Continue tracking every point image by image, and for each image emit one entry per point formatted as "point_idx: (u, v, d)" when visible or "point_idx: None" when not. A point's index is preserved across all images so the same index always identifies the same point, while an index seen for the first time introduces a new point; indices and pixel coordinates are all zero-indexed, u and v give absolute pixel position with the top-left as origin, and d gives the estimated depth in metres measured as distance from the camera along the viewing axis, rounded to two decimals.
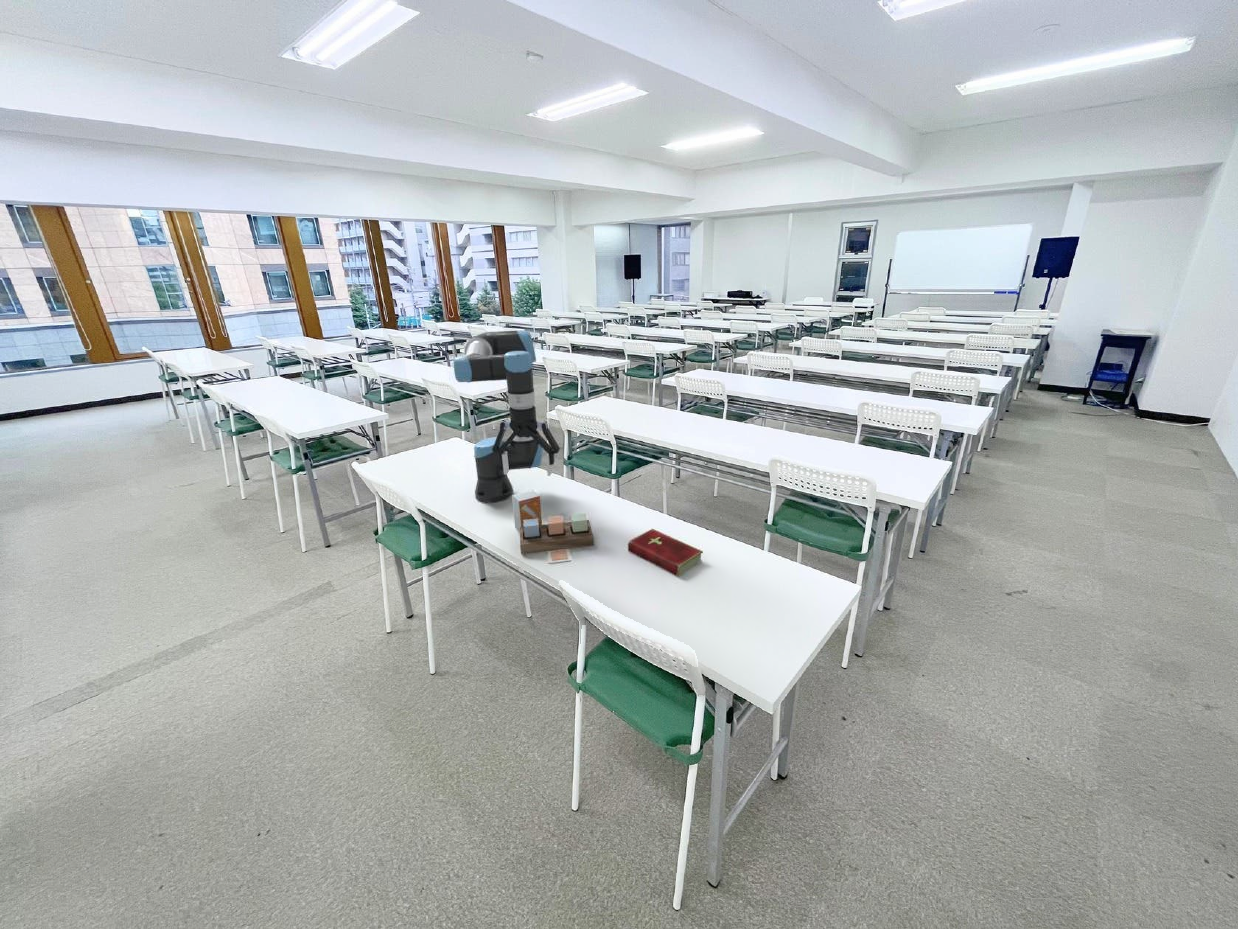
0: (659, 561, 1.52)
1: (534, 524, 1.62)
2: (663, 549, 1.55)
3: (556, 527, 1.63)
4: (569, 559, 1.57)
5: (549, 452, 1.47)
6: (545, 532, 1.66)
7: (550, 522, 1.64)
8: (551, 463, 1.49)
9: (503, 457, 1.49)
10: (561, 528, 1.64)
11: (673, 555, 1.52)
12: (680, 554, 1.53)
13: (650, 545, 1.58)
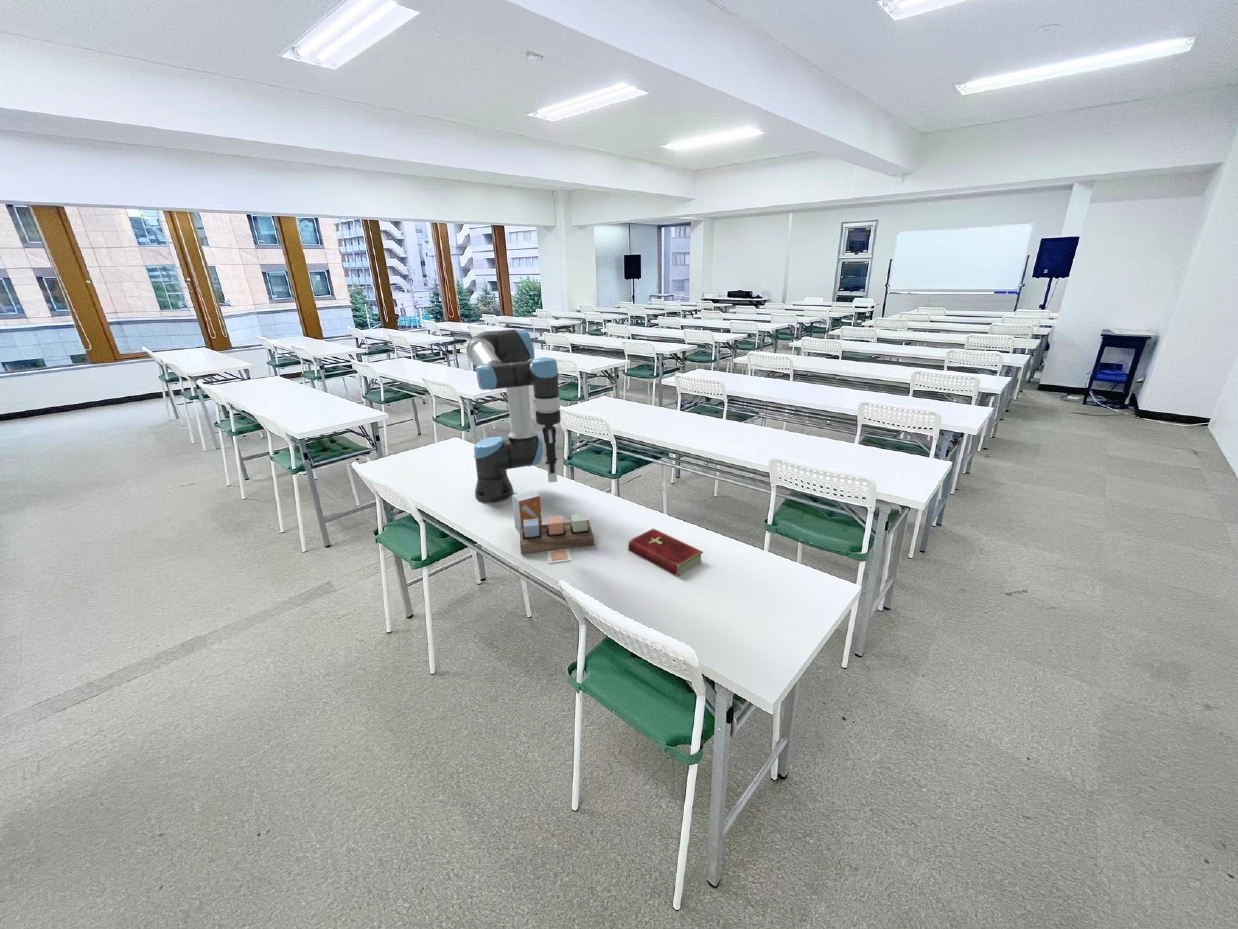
0: (659, 561, 1.52)
1: (534, 524, 1.62)
2: (663, 549, 1.55)
3: (556, 527, 1.63)
4: (569, 559, 1.57)
5: (547, 460, 1.55)
6: (545, 532, 1.66)
7: (550, 522, 1.64)
8: (550, 471, 1.57)
9: (547, 465, 1.58)
10: (561, 528, 1.64)
11: (673, 555, 1.52)
12: (680, 554, 1.53)
13: (650, 545, 1.58)
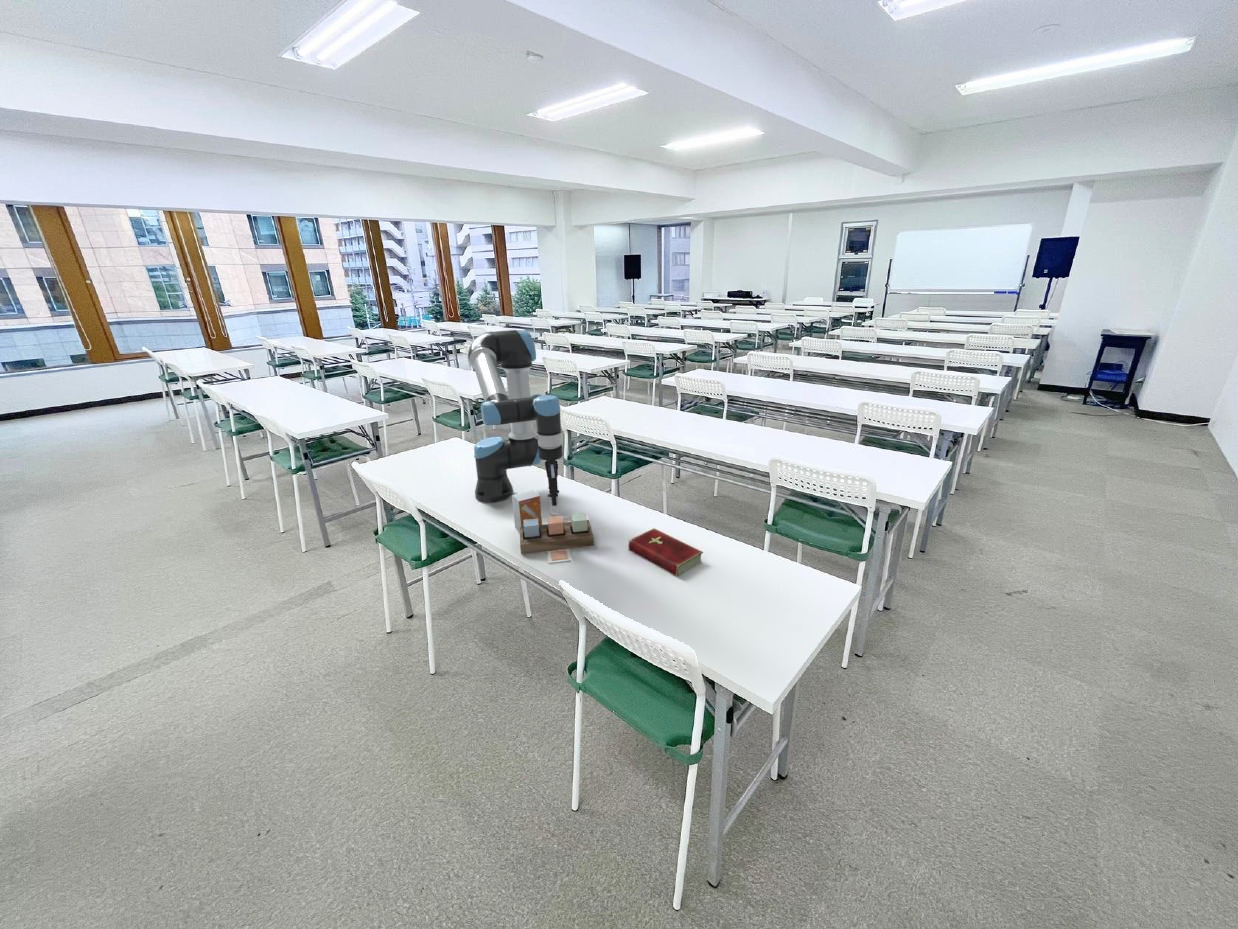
0: (659, 560, 1.52)
1: (534, 524, 1.62)
2: (663, 549, 1.55)
3: (556, 527, 1.63)
4: (569, 559, 1.57)
5: None
6: (545, 532, 1.66)
7: (550, 522, 1.64)
8: (552, 504, 1.61)
9: (549, 497, 1.62)
10: (561, 528, 1.64)
11: (673, 554, 1.52)
12: (680, 554, 1.53)
13: (650, 544, 1.58)
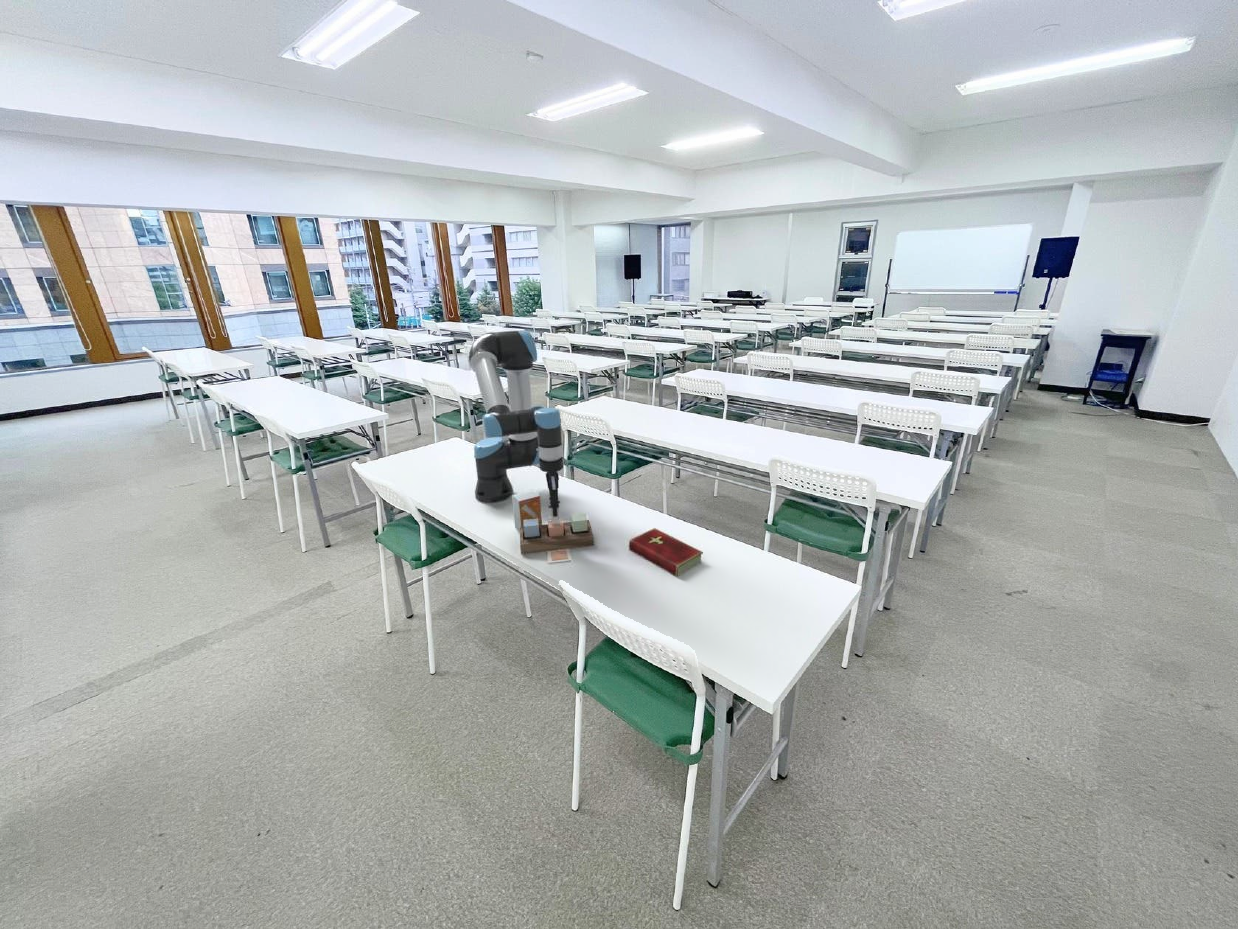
0: (658, 560, 1.52)
1: (534, 524, 1.62)
2: (663, 549, 1.56)
3: (556, 531, 1.64)
4: (569, 559, 1.57)
5: None
6: (545, 532, 1.66)
7: (551, 525, 1.64)
8: (553, 515, 1.63)
9: (550, 508, 1.63)
10: (561, 532, 1.64)
11: (672, 554, 1.52)
12: (679, 554, 1.53)
13: (651, 544, 1.58)
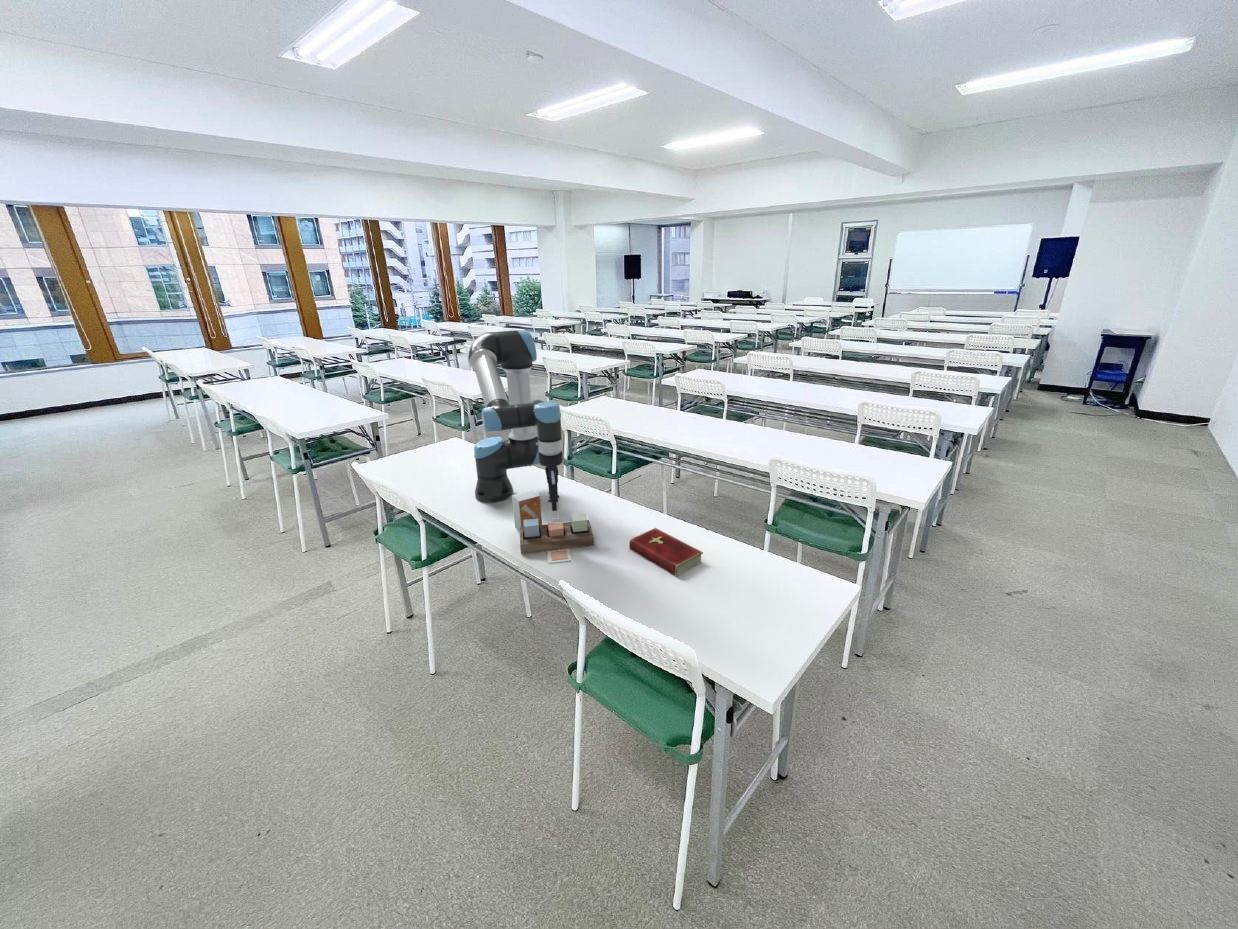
0: (658, 560, 1.52)
1: (534, 524, 1.62)
2: (663, 549, 1.56)
3: (557, 533, 1.64)
4: (569, 559, 1.57)
5: (549, 499, 1.61)
6: (545, 532, 1.66)
7: (551, 528, 1.65)
8: (552, 509, 1.62)
9: None
10: (561, 534, 1.65)
11: (672, 554, 1.52)
12: (679, 554, 1.53)
13: (651, 544, 1.58)
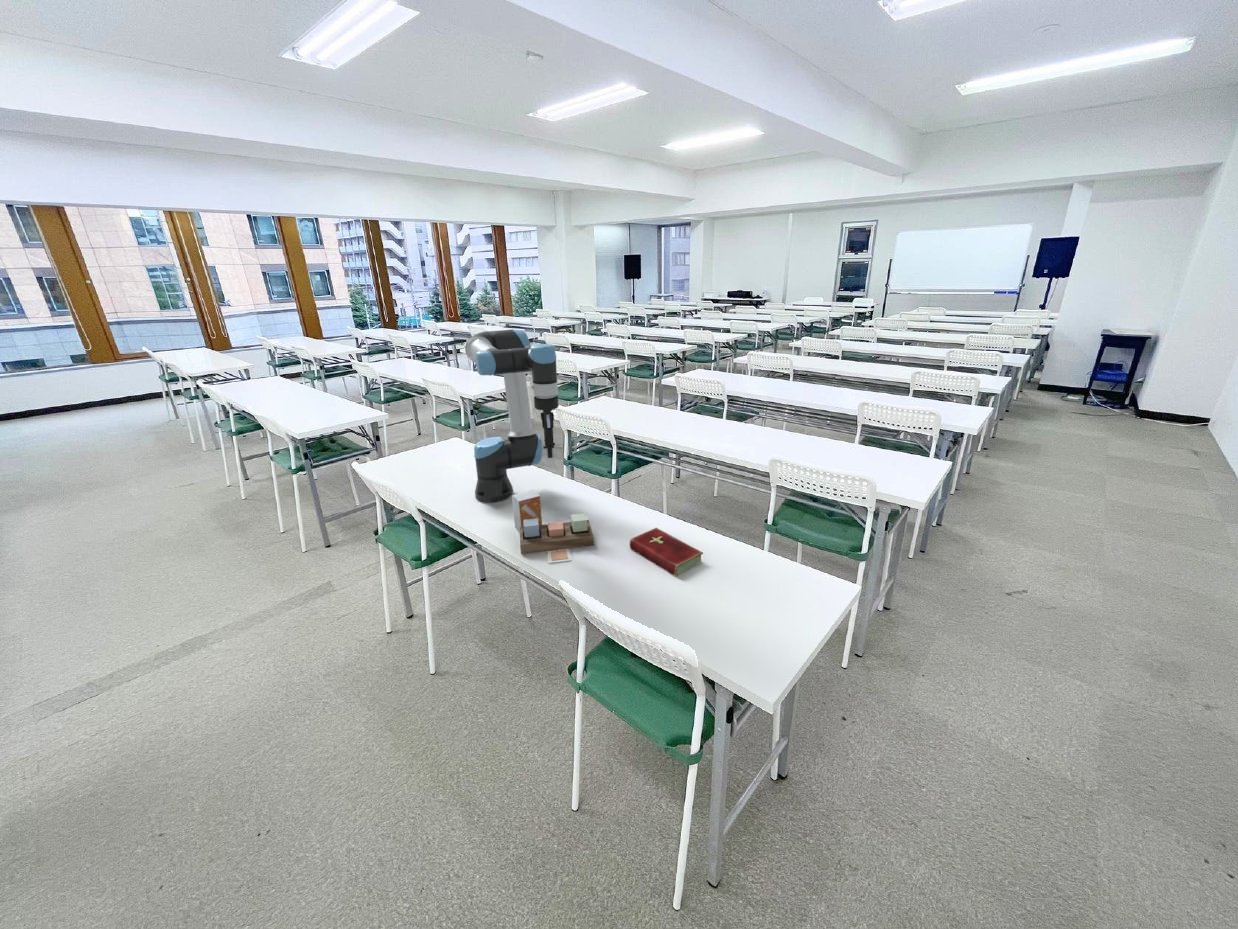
0: (658, 560, 1.52)
1: (534, 524, 1.62)
2: (663, 549, 1.56)
3: (557, 533, 1.64)
4: (569, 559, 1.57)
5: (545, 445, 1.59)
6: (545, 532, 1.66)
7: (551, 528, 1.65)
8: (547, 456, 1.60)
9: (545, 449, 1.61)
10: (561, 534, 1.65)
11: (672, 554, 1.52)
12: (679, 554, 1.53)
13: (651, 544, 1.58)
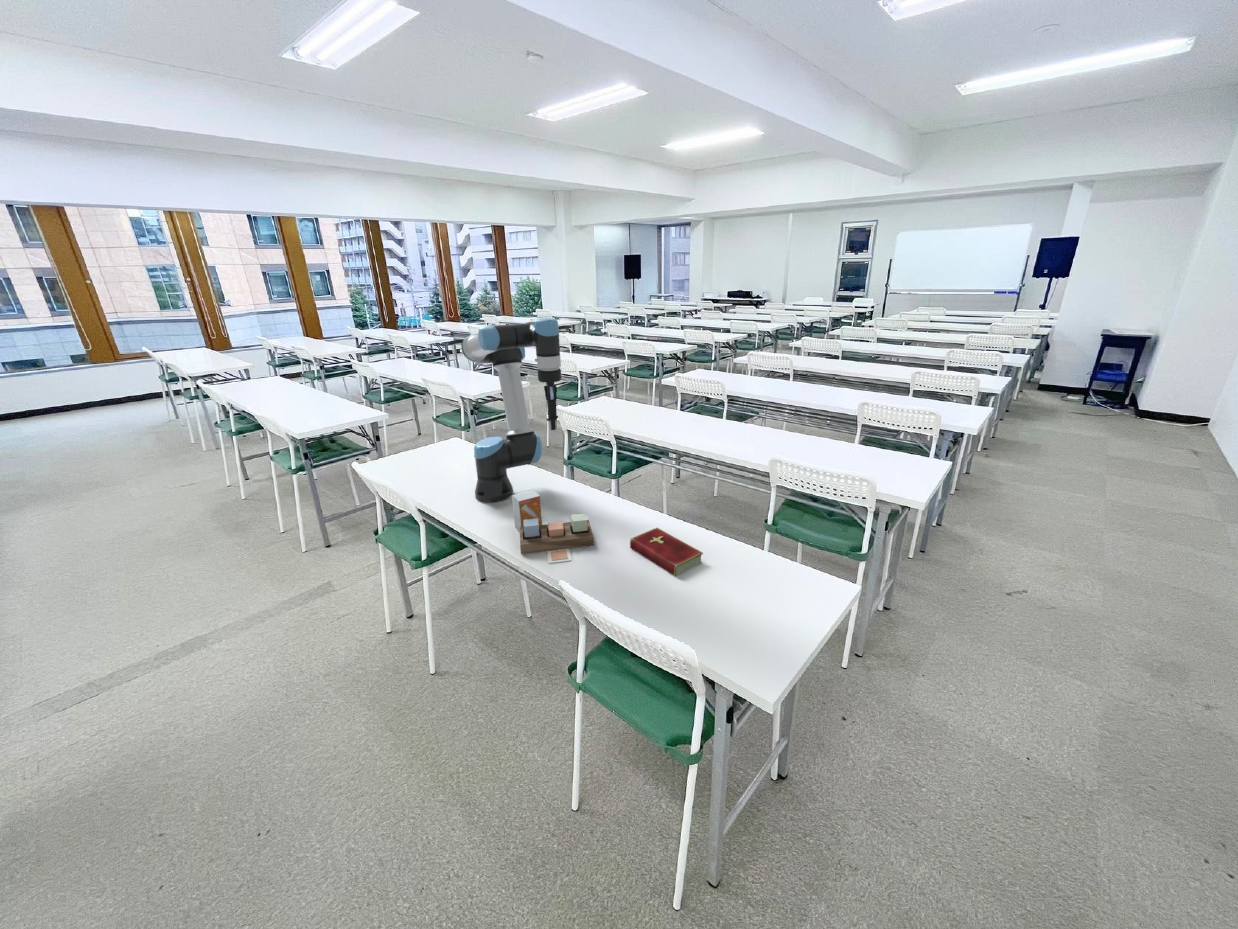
0: (658, 560, 1.52)
1: (534, 524, 1.62)
2: (663, 548, 1.56)
3: (557, 533, 1.64)
4: (569, 559, 1.57)
5: (548, 417, 1.64)
6: (545, 532, 1.66)
7: (551, 528, 1.65)
8: (551, 428, 1.66)
9: None
10: (561, 534, 1.65)
11: (672, 554, 1.53)
12: (679, 554, 1.53)
13: (651, 543, 1.59)
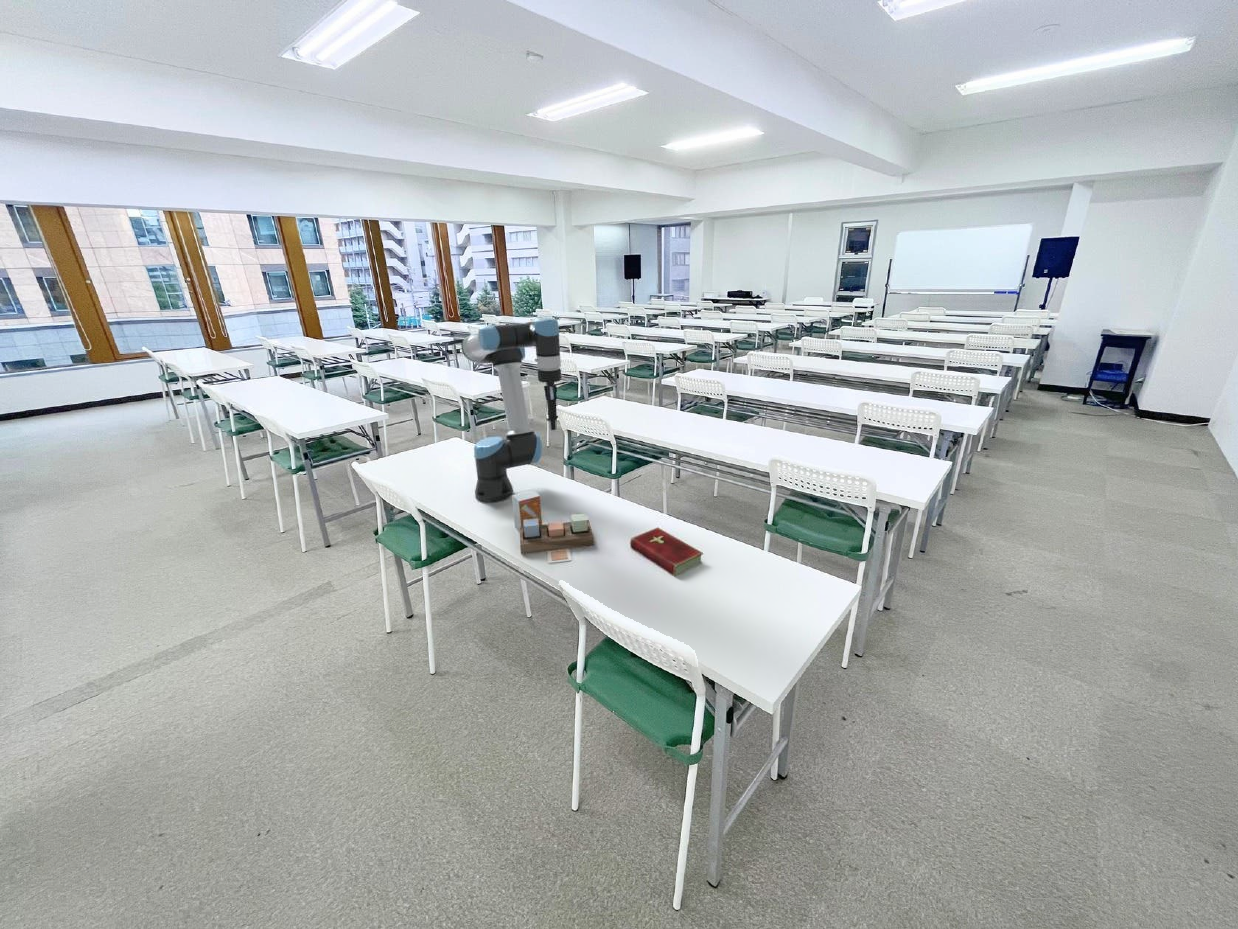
0: (658, 559, 1.52)
1: (534, 524, 1.62)
2: (664, 548, 1.56)
3: (557, 533, 1.64)
4: (569, 559, 1.57)
5: (548, 417, 1.64)
6: (545, 532, 1.66)
7: (551, 528, 1.65)
8: (551, 428, 1.66)
9: None
10: (561, 534, 1.65)
11: (672, 554, 1.53)
12: (679, 554, 1.53)
13: (651, 543, 1.59)
